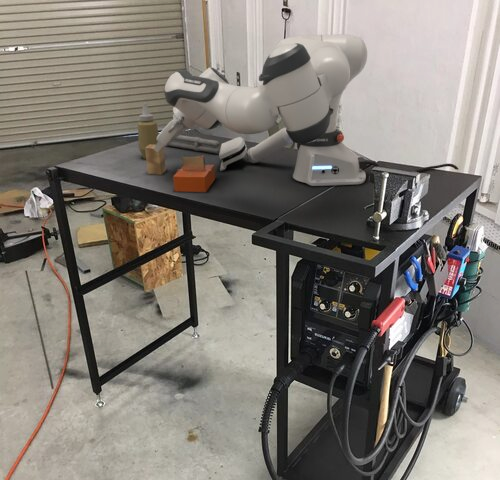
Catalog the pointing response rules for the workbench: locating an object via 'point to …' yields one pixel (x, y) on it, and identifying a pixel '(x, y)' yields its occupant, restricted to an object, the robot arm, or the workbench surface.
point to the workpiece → (155, 160)
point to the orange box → (194, 180)
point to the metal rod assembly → (196, 144)
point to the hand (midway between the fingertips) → (161, 146)
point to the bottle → (269, 146)
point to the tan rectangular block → (193, 163)
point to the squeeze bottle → (146, 130)
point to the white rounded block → (232, 151)
